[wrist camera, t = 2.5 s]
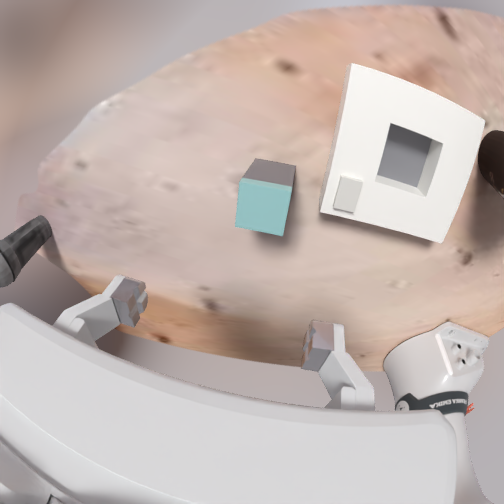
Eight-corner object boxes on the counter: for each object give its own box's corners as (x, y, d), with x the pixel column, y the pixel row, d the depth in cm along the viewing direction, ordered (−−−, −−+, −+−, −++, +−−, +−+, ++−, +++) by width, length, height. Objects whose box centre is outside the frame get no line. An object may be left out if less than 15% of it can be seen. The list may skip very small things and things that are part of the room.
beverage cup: (28, 210, 37) (-45, 275, 21) (46, 206, 35) (-37, 279, 19) (42, 243, 41) (-23, 311, 25) (61, 242, 39) (-11, 319, 23)
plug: (295, 165, 26) (291, 191, 20) (288, 201, 28) (282, 236, 22) (255, 158, 26) (239, 181, 20) (251, 194, 28) (235, 226, 23)
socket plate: (470, 115, 18) (488, 121, 15) (432, 229, 26) (443, 246, 23) (346, 65, 19) (352, 62, 16) (319, 199, 27) (320, 214, 24)
